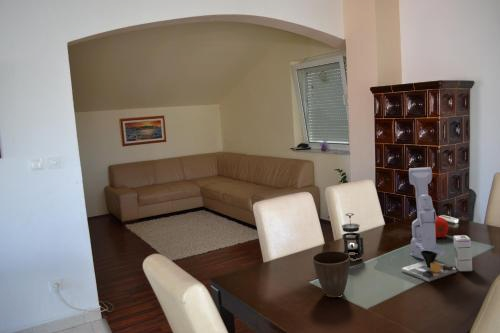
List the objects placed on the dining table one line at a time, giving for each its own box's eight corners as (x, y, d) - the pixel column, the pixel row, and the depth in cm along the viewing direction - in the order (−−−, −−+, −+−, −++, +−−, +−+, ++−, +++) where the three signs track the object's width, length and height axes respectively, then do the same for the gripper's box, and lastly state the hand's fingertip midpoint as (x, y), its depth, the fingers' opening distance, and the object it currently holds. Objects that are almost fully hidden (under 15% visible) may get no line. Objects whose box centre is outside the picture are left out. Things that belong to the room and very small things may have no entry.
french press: (338, 258, 210) (335, 214, 207) (350, 253, 215) (347, 210, 213) (357, 263, 200) (353, 217, 198) (369, 258, 206) (366, 213, 203)
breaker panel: (401, 271, 186) (401, 265, 185) (428, 262, 193) (428, 256, 192) (428, 281, 172) (428, 274, 172) (456, 271, 179) (456, 265, 179)
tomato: (428, 238, 235) (438, 246, 222) (415, 222, 234) (424, 228, 221) (447, 225, 234) (457, 232, 220) (433, 208, 233) (443, 214, 219)
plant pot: (345, 305, 159) (342, 265, 157) (310, 299, 167) (306, 261, 165) (357, 289, 171) (354, 252, 170) (323, 285, 179) (320, 249, 178)
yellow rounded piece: (430, 270, 179) (430, 263, 178) (434, 269, 180) (434, 261, 180) (436, 272, 176) (436, 264, 176) (440, 271, 177) (440, 263, 177)
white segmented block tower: (472, 271, 178) (471, 238, 177) (458, 271, 179) (456, 239, 178) (468, 266, 184) (467, 234, 182) (454, 266, 185) (453, 235, 183)
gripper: (408, 235, 184) (410, 264, 185) (435, 242, 171) (437, 274, 172) (420, 232, 187) (421, 261, 188) (447, 239, 174) (449, 270, 175)
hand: (430, 267), depth 181 cm, fingers closed
